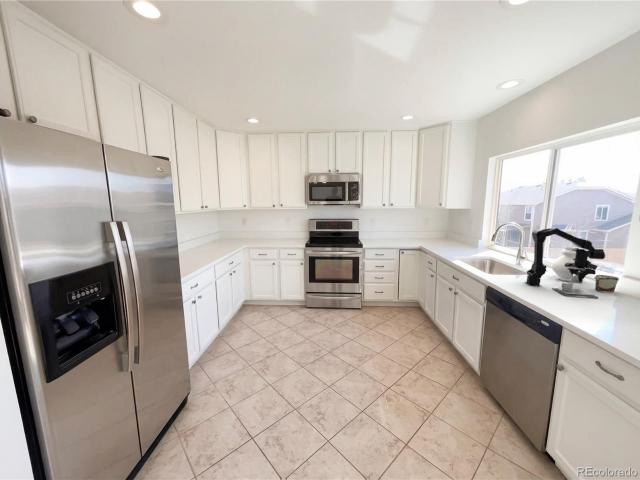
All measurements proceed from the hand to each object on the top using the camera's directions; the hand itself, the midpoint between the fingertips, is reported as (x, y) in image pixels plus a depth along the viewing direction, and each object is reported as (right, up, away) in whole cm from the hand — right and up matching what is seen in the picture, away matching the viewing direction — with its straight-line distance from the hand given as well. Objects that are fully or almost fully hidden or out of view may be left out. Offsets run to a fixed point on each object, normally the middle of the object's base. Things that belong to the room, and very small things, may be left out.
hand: (577, 280), depth 166 cm
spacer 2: (0, -1, 0) cm, 1 cm away
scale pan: (-11, -6, -9) cm, 15 cm away
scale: (-11, -7, -8) cm, 16 cm away
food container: (+13, -7, -3) cm, 15 cm away
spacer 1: (-15, -5, -7) cm, 18 cm away
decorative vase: (+13, -3, +21) cm, 25 cm away
